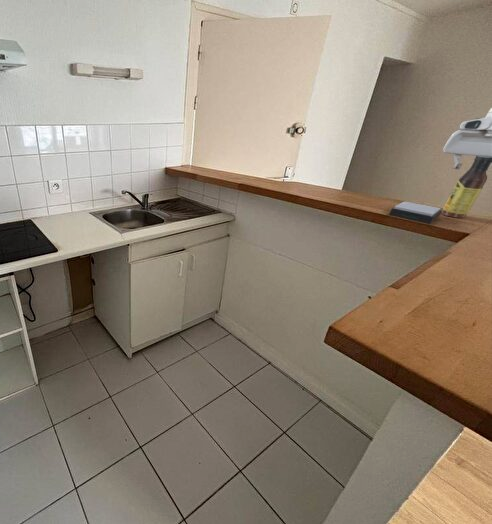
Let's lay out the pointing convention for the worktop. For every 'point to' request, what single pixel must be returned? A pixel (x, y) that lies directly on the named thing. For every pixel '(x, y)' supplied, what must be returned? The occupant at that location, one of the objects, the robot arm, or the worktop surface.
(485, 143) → the robot arm
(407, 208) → the kitchen scale
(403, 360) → the worktop surface
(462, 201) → the sauce bottle
